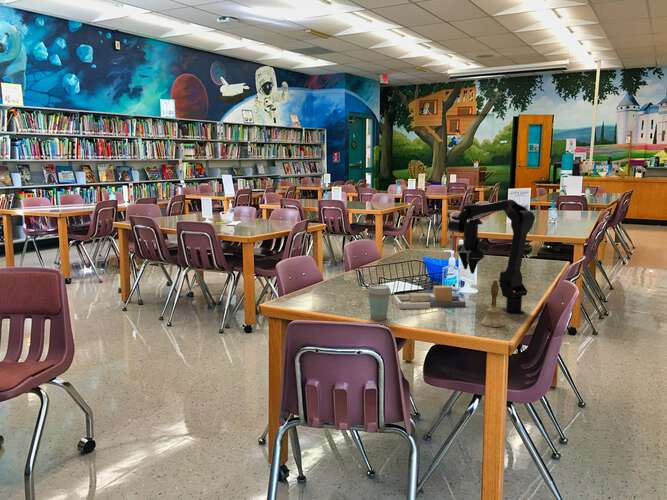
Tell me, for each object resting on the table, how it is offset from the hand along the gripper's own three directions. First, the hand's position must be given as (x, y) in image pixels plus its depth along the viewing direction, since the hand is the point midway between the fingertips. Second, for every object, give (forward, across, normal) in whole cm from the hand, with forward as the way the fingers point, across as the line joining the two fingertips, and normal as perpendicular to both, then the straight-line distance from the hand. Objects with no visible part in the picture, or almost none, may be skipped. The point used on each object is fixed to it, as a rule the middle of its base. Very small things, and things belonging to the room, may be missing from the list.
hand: (468, 271), depth 244 cm
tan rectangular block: (+12, -6, +12) cm, 18 cm away
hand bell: (+12, -36, +2) cm, 38 cm away
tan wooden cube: (+12, -6, +24) cm, 27 cm away
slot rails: (+12, -6, +12) cm, 18 cm away
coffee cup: (+12, -26, +42) cm, 51 cm away
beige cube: (+12, -6, +20) cm, 24 cm away
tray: (+12, -6, +25) cm, 28 cm away
